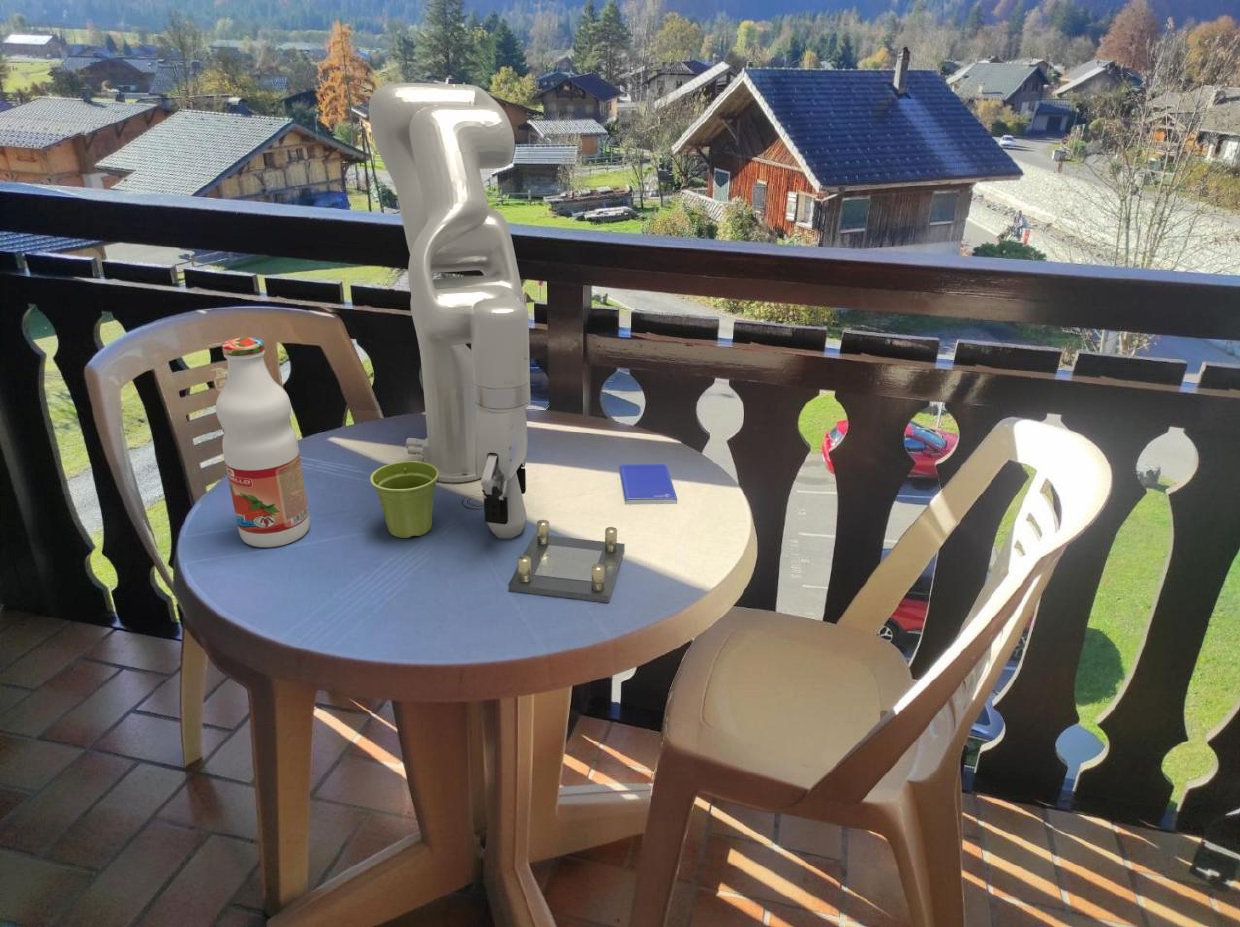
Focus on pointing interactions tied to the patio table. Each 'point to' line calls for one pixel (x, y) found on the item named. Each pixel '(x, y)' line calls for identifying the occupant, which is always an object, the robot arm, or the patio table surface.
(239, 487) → the fruit juice
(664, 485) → the hard drive
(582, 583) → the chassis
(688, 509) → the patio table surface
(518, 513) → the salt shaker
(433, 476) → the plant pot
